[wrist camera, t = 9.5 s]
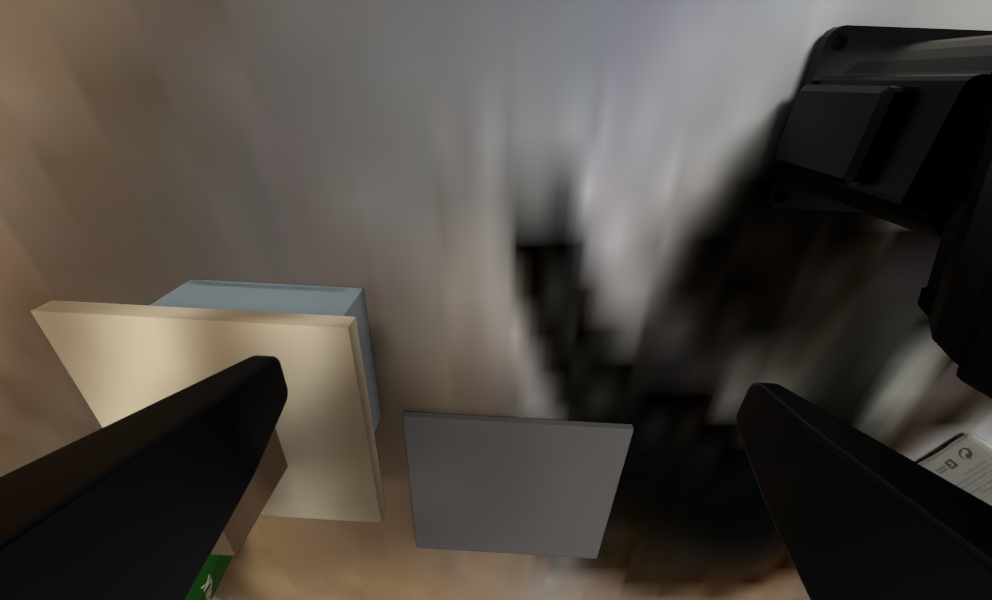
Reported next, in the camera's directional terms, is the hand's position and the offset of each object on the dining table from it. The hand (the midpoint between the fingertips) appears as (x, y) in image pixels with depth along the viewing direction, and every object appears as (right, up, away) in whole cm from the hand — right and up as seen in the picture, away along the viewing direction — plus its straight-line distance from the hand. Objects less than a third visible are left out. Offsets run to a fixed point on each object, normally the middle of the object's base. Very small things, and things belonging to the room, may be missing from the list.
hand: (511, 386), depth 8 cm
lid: (-12, -4, +11) cm, 17 cm away
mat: (+1, -12, +20) cm, 23 cm away
